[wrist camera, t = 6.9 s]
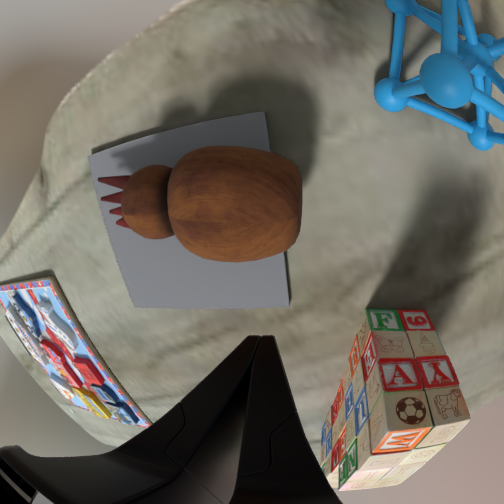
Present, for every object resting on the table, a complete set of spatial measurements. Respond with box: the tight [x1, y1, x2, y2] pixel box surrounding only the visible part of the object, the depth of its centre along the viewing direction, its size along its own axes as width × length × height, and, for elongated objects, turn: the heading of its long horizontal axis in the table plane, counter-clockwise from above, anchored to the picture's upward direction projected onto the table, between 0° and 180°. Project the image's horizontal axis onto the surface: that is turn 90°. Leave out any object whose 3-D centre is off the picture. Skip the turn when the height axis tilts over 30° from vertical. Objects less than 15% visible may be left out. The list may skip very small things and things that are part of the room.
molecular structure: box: [374, 0, 504, 151], centre depth 9 cm, size 10×10×10 cm
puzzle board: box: [0, 276, 152, 428], centre depth 36 cm, size 30×23×3 cm
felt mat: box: [88, 111, 290, 309], centre depth 21 cm, size 15×15×1 cm
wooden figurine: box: [98, 146, 302, 263], centre depth 17 cm, size 7×6×15 cm
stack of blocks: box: [320, 309, 470, 491], centre depth 21 cm, size 21×6×12 cm, turn 0°
